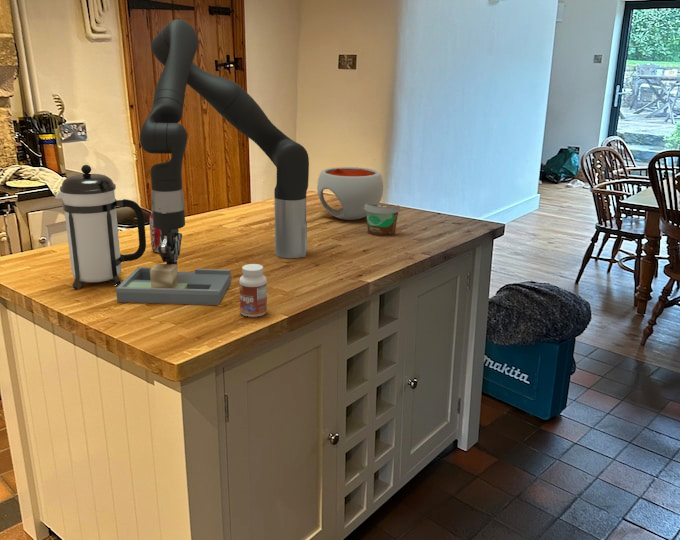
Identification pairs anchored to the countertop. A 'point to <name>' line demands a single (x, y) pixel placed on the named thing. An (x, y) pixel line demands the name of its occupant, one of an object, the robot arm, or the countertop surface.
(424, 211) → the countertop surface
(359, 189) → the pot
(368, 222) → the food container
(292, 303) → the countertop surface
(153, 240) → the soda can
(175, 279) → the maple block
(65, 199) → the coffee press
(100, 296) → the countertop surface
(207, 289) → the box
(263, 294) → the pill bottle
